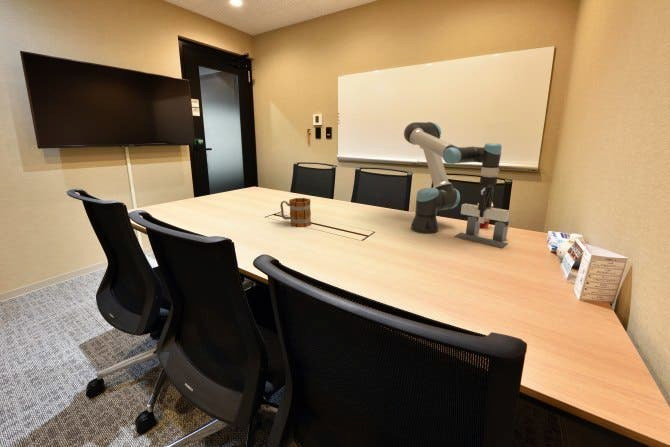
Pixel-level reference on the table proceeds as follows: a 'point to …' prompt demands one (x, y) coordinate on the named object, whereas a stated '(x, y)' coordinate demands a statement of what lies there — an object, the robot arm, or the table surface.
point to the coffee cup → (485, 222)
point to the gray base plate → (481, 240)
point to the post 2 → (500, 231)
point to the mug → (298, 212)
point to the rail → (490, 212)
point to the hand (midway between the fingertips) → (482, 221)
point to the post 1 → (473, 226)
